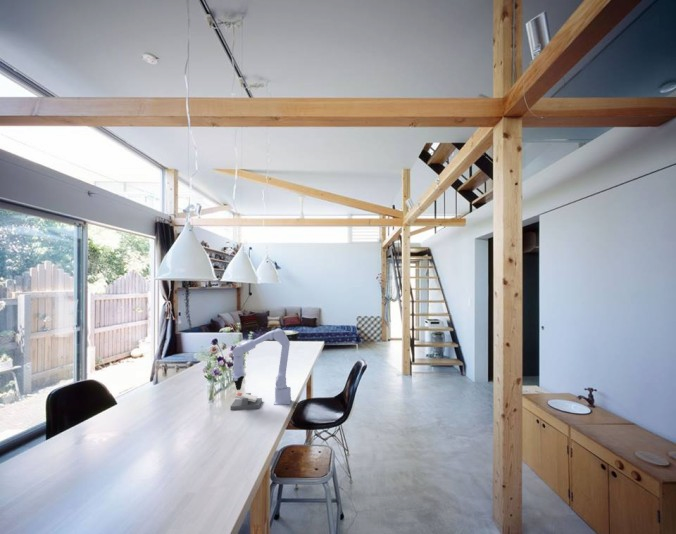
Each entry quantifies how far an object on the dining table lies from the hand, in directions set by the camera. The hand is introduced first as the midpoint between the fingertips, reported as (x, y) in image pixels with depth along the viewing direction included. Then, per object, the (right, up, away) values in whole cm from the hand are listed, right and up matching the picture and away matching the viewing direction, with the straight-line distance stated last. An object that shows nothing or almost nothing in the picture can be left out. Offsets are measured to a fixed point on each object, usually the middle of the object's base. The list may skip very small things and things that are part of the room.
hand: (238, 389), depth 189 cm
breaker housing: (+5, -9, 0) cm, 11 cm away
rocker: (+5, -4, 0) cm, 6 cm away
